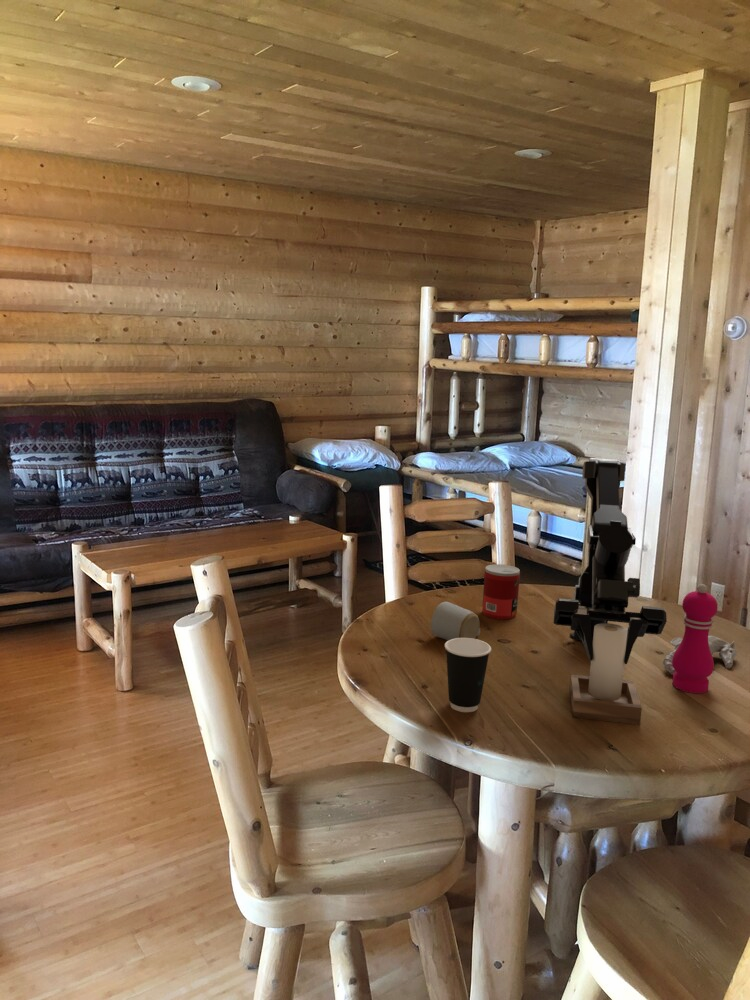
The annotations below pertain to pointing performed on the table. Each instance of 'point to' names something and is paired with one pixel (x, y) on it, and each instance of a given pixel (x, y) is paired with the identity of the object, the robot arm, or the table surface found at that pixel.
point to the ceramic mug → (454, 622)
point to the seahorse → (715, 645)
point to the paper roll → (607, 661)
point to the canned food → (500, 591)
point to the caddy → (604, 703)
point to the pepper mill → (695, 643)
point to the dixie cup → (466, 672)
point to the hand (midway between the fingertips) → (608, 661)
